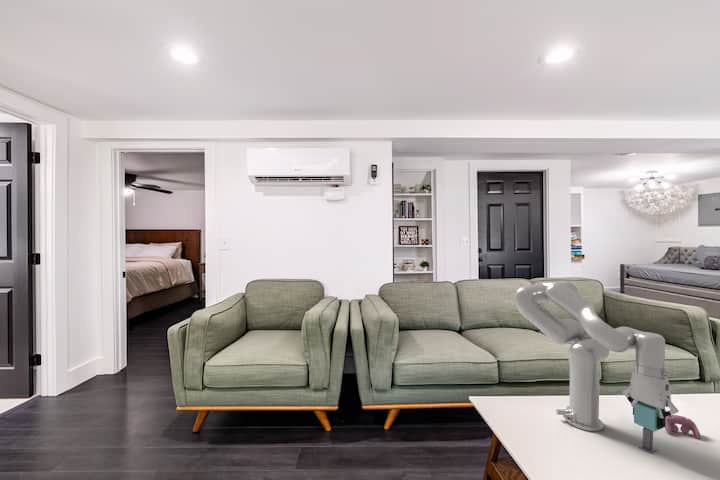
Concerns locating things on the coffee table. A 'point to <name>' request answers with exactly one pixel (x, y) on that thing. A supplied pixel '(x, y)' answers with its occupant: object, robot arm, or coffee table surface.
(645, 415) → the teal block
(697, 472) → the coffee table surface
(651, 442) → the post
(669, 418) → the video game controller
